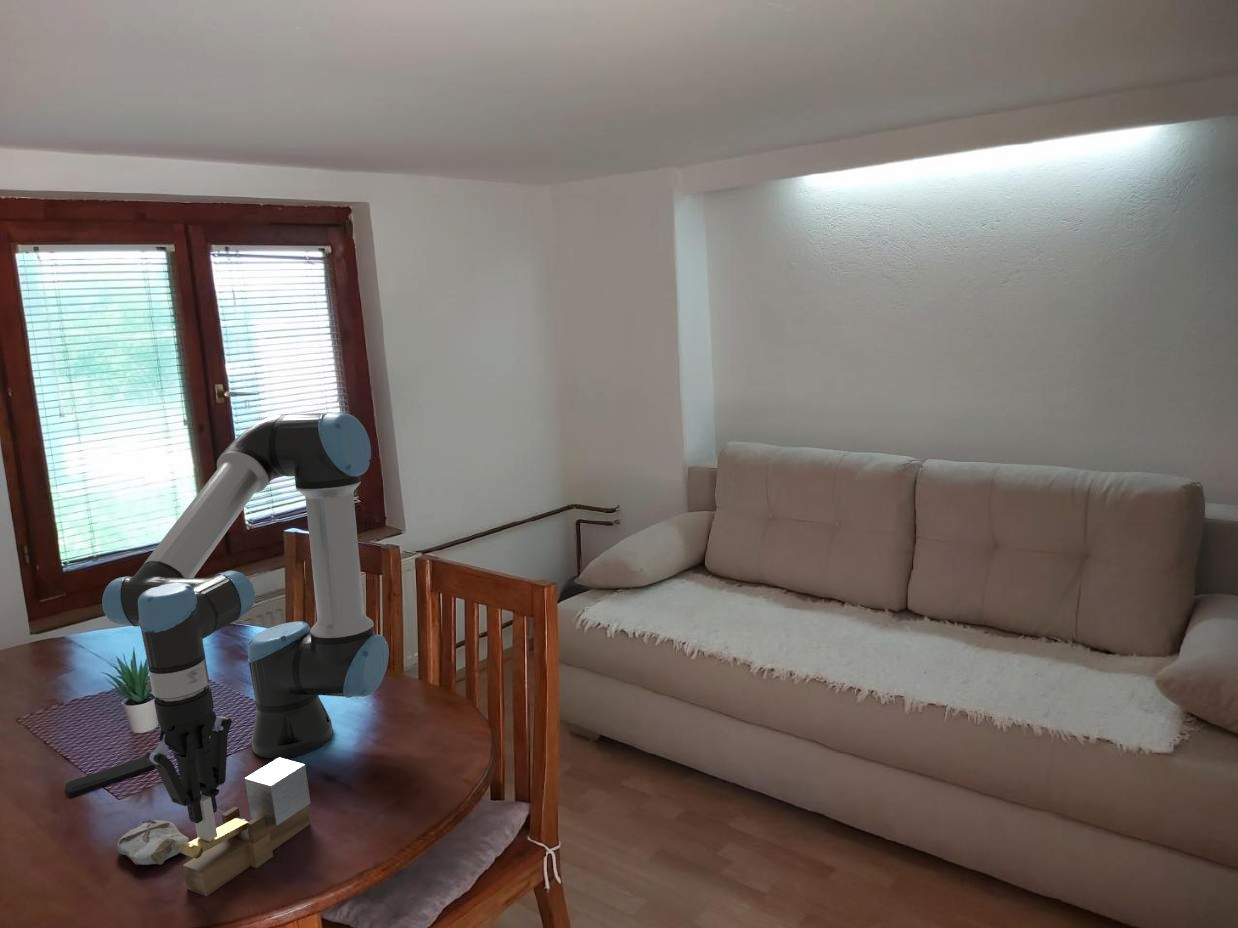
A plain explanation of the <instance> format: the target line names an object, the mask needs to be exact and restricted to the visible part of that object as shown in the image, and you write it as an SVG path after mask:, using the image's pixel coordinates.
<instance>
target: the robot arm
mask: <svg viewBox="0 0 1238 928" xmlns="http://www.w3.org/2000/svg"><path fill="white" fill-rule="evenodd" d="M371 459H372V447H371V442H370V438H369V435H368V432H367V431H366V428H365V427H364V424H363V423H361V422H360V419H358V418H356V417H355V416H354V415H352V414H349V413H343V412H329V411H327V412H317V413H316V412H313V413H299V414H297V413H295V414H293V413H292V414H288V413H287V414H286V413H285V414H284V413H283V414H282V413H281V414H275V415H272V416H269V417H266V418H263V419H261V420H260V421H258V422H256V423H255V424H254V423H253V425H251V426H250V427H248V428H247V429H246V430H244V431H243V432H242V433H241V434H240V435H238V436H237V437H236V438H235V439H234V440H233V441H232V442H230V444H229V445H228V446H227V448H226V449H224V451H222V453H221V454H220V456H219V457H218V459H217V461H216V470H215V472H214V473H213V474H212V475H211V476H210V478H209V480H208V481H207V482H206V483H205V484H204V485H203V487H202V488H201V490H199V492H198V493H197V495H196V496H195V497H194V498H193V500H192V501H191V503H190V504H189V505H188V506H187V508H185V510H184V511H183V512H182V514H181V515H180V516H179V518H178V519H177V521H176V522H175V523H173V525H172V526H171V528H170V529H169V530H168V532H167V533H166V534H165V535H164V536H163V538H162V539H161V541H160V542H159V543H158V545H157V546H156V547H155V548H154V550H153V551H152V552H151V554H149V556H148V557H147V559H146V560H145V561H144V563H143V564H142V566H140V568H139V569H138V570H137V572H136V573H135V575H133V576H132V575H131V576H130V575H127V576H123V577H118V578H115V579H113V580H112V581H110V583H108V585H107V586H106V587H105V589H104V591H103V595H102V597H101V598H102V600H101V602H102V603H101V604H102V611H103V613H104V614H105V616H106V618H107V619H108V620H109V621H110V622H111V623H114V624H117V625H123V626H130V627H134V628H135V627H136V628H137V627H139V629H140V632H141V635H142V636H141V637H142V643H143V646H144V651H145V657H146V661H147V667H148V675H149V682H150V686H151V694H152V695H153V696H154V701H153V702H154V708H155V713H156V720H157V722H158V724H159V728H160V734H159V738H158V739H159V743H158V745H156V747H155V748H154V750H153V751H152V750H149V751H148V752H146V755H145V756H146V759H147V760H149V761H150V762H151V763H153V764H154V765H155V767H156V768H155V769H156V771H157V772H158V776H159V777H160V780H161V781H162V783H163V785H164V787H165V789H166V792H167V793H168V795H169V797H170V799H171V802H172V803H175V804H177V805H180V806H183V807H187V812H188V814H187V815H188V819H189V821H190V823H194V826H195V832H196V837H197V838H201V839H203V840H206V841H211V840H212V839H214V838H216V837H217V830H216V828H217V825H216V820H215V819H216V818H215V813H216V812H217V811H218V805H217V799H216V796H218V795H219V794H220V789H219V788H218V787H219V786H222V785H224V784H225V782H226V779H227V778H226V775H227V774H226V773H227V759H228V758H227V757H228V741H229V740H228V739H229V738H228V737H229V732H230V729H231V725H232V722H233V720H232V719H231V718H229V717H227V716H226V717H225V716H222V715H217V714H216V712H215V711H214V707H215V705H214V699H213V695H212V693H213V692H212V688H211V685H209V683H210V678H209V671H208V666H207V660H206V654H205V653H206V651H205V646H204V639H206V638H208V637H209V636H210V635H212V634H214V633H216V632H217V631H219V630H221V629H223V628H224V627H226V626H228V625H230V624H232V623H234V622H236V621H238V620H239V619H241V617H243V616H245V614H247V613H248V612H250V611H251V609H252V608H253V606H254V604H255V601H256V592H255V588H254V585H253V583H252V581H251V580H250V579H249V578H248V577H247V576H246V574H243V573H242V572H239V571H236V570H227V571H224V572H218V573H216V574H214V575H213V576H211V577H207V578H206V577H205V578H203V577H196V576H197V573H198V572H199V570H201V568H202V566H204V564H205V562H206V561H207V560H208V558H209V557H210V556H211V554H212V553H213V551H215V549H216V547H217V545H218V544H220V542H221V541H222V539H223V538H224V536H225V535H226V533H227V532H228V531H229V530H230V527H232V525H233V523H234V522H235V521H236V519H237V518H238V517H239V515H240V514H241V512H243V510H244V509H245V507H246V506H247V505H248V502H250V500H251V498H252V497H253V496H254V494H256V493H260V492H262V491H264V490H265V489H266V487H267V486H268V485H269V484H270V482H272V481H273V480H275V479H278V478H282V477H288V478H289V477H294V484H295V489H296V491H298V492H299V493H300V494H301V495H303V496H304V498H305V506H306V515H307V518H306V519H307V527H308V536H309V538H308V539H309V548H310V557H311V567H312V580H313V587H314V590H313V591H314V598H315V607H316V608H315V609H316V618H317V620H316V622H315V623H314V624H313V626H312V627H310V626H309V624H308V623H307V622H305V621H290V622H286V623H281V624H277V625H275V626H272V627H268V628H266V629H264V630H262V631H260V632H258V633H256V634H255V635H254V636H252V637H251V638H250V639H249V641H248V644H247V654H248V655H247V656H248V659H247V663H248V666H249V672H250V677H251V685H252V690H253V695H254V701H255V703H254V704H255V707H256V708H255V710H256V712H255V718H254V724H253V725H254V726H253V731H252V733H251V738H250V739H251V746H252V751H253V752H254V754H255V755H256V756H257V757H261V758H265V759H273V760H276V759H277V758H279V757H280V758H283V759H288V758H292V757H298V756H300V755H304V754H307V753H309V752H312V751H314V750H317V749H318V748H320V747H321V746H323V745H325V744H326V743H327V742H328V741H329V740H330V739H331V738H332V735H333V733H334V732H333V731H334V730H333V723H332V719H331V717H330V715H329V713H328V712H327V709H326V708H325V706H324V704H323V702H322V700H321V699H320V696H328V697H344V698H347V699H348V698H349V699H350V698H354V697H355V698H356V697H358V698H359V697H360V698H361V697H368V696H370V695H371V694H372V693H374V692H375V691H376V690H377V689H378V688H379V686H381V683H382V682H383V680H384V678H385V677H384V676H385V674H386V672H387V668H388V663H389V656H390V653H389V644H388V641H387V640H386V638H385V636H383V635H381V634H378V633H376V634H375V627H374V626H375V625H374V621H373V619H371V618H369V617H368V616H367V615H366V614H365V607H364V595H363V585H362V573H361V572H362V571H361V562H360V561H361V560H360V553H359V552H360V551H359V541H358V540H359V539H358V531H357V519H356V510H355V509H356V507H355V498H354V496H355V495H354V492H355V490H356V489H357V488H358V486H360V484H361V483H362V481H361V476H362V475H364V474H365V473H366V472H367V471H368V469H369V467H370V464H371V463H370V461H371ZM168 750H170V751H171V752H172V753H173V757H174V759H175V760H176V763H177V768H178V772H177V770H176V767H175V764H174V763H173V762H172V760H170V759H171V755H170V753H169V751H168Z"/></svg>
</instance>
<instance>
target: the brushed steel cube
mask: <svg viewBox="0 0 1238 928" xmlns="http://www.w3.org/2000/svg"><path fill="white" fill-rule="evenodd" d="M308 783H309V782H308V776H307V771H306V764H305V763H301V762H297V761H295V760H290V759H288V758H280V757H279V758H277V759H273V761H271V762H269V763H268V764H266V765H264V766H263V767H260V768H259V769H257V770H256V771H254V772H252V773H251V774H249V775H248V776H246V777H244V784H245V790H246V795H247V802H248V809H249V815H250V818H251V819H254V818H255V817H257V816H258V815H262V816H264V820H265V822H266V823H269V824H272V825H275V826H278V825H279V824H281V823H282V822H284V821H285V820H287V819H288V818H289V817H291V816H292V815H294V814H295V813H297V812H298V811H300V810H301V809H303V808H304V807H306V806H307V805H308V806H309V805H310V804H311V797H310V789H309V784H308Z"/></svg>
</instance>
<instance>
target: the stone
mask: <svg viewBox="0 0 1238 928" xmlns="http://www.w3.org/2000/svg"><path fill="white" fill-rule="evenodd" d="M184 842H188V843H189V842H190V839H189V837H188V836H186V835H184V834H183V833H182V832H180V831H179V829H178V828H177V826H176V825H175V824H174V823H173V822H172V821H167V820H160V819H159V820H158V819H157V820H156V819H155V820H154V819H148V820H145V821H142V823H141V825H139V826H137V827H135V828H132V829H130V830H129V831H127V832H126V833H124V834H123V835H122V836H121V837H120V838H119V839H118V841H117V845H116V846H117V847H116V848H117V852H118V853H119V854H120V855H123V856H126V857H127V858H128V859H130V860H131V861H132V862H133V863H134V864H135V865H141V866H144V865H145V866H148V865H160V866H161V865H163V864H164V863H165V861H167V860H168V859H171V858H172V857H174V856H177V855H178V854H181V853H180V852H179V847H180V845H181V844H182V843H184Z"/></svg>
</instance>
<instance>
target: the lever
mask: <svg viewBox="0 0 1238 928" xmlns="http://www.w3.org/2000/svg"><path fill="white" fill-rule="evenodd" d="M249 821H250V820H249V819H246V818H244V817H241V816H240V817H238V816H235V817H234V818H233V820H231V821H229V822H227V823H225V824H223V823H222V824H221V825H220V826H218V827H216V830H217V837H216V838H214V839H212V840H211V841H206V840H203V839H201V838H198V837H197V838H195V839H193V840H191V841H189V842H184V843H182V844H181V845H180V847H179V852H180V853H179V854H182V855H185V856H188V857H190V858H192V859H193V858H196V859H197V858H199V857H200V856H201V855H202V853H203V852H205V851H207V850H209V849H211V848H213V847H214V846H216V845H218V844H220V843H222V842H224V841H226V840H227V839H229V838H231V837H233V836H235V835H237V834H239V833H240V832H242V831H244V830H246V829H248V828H247V822H249Z"/></svg>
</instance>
